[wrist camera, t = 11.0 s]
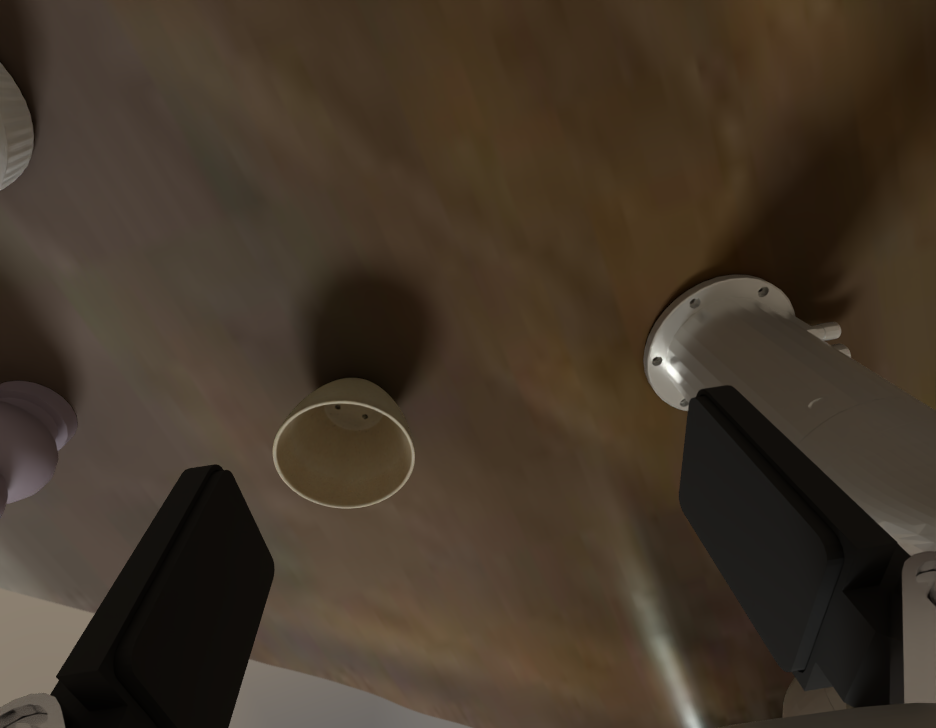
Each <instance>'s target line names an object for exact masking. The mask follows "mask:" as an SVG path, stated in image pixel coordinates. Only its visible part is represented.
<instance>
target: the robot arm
mask: <svg viewBox="0 0 936 728" xmlns="http://www.w3.org/2000/svg"><path fill="white" fill-rule="evenodd" d="M840 335H841V328H840V325H839V324H838V323H837V322H828V323H822V324H817V325H815V326H810V325H808V324H807V323H805V322H803V321H802V320H800V319H798V318H797V317H795V312H794V309H793V306H792V304H791V302H790V300H789V299H788V297H787V296H786V295H785V294H784V293H783V291H782V290H780V289H779V288H777V287H776V286H774V285H773V284H771V283H769V282H767V281H765V280H763V279H761V278H758V277H754V276H750V275H734V274H733V275H727V276H720V277H716V278H713V279H710V280H707V281H705V282H702V283H700V284H698V285H696V286H695V287H693V288H691V289H689V290H687V291H686V292H685V293H683V294H682V295H681V296H679V297H678V298H677V299H675V300H674V301H673V302H672V303H671V304H670V305H669V306H668V307H667V308H666V309H665V310H664V312H663V313H662V314H661V316H660V317H659V318H658V320H657V321H656V322H655V324H654V326H653V328H652V330H651V332H650V334H649V336H648V339H647V343H646V346H645V351H644V369H645V374H646V377H647V379H648V382H649V384H650V385H651V387H652V388H653V389H654V391H655V392H656V393H657V394H658V396H659V397H660V398H661V399H662V400H663V401H665V402H666V403H668V404H669V405H671V406H673V407H675V408H677V409H680V410H684V411H688V416H687V425H686V434H685V443H684V452H683V462H682V471H681V480H680V489H679V501H680V505H681V508H682V511H683V512H684V514H685V516H686V518H687V519H688V521H689V522H690V524H691V526H692V527H693V529H694V530H695V532H696V534H697V535H698V537H699V538H700V540H701V542H702V543H703V545H704V546H705V548H706V550H707V551H708V553H709V555H710V556H711V558H712V559H713V561H714V563H715V564H716V566H717V567H718V569H719V571H720V572H721V574H722V575H723V577H724V579H725V580H726V582H727V583H728V585H729V587H730V588H731V590H732V591H733V593H734V595H735V596H736V598H737V600H738V601H739V603H740V604H741V606H742V608H743V609H744V611H745V612H746V614H747V616H748V617H749V619H750V620H751V622H752V624H753V625H754V627H755V628H756V630H757V632H758V633H759V635H760V636H761V638H762V640H763V641H764V643H765V645H766V646H767V648H768V649H769V651H770V653H771V654H772V656H773V657H774V659H775V661H776V662H777V663H778V665H779V666H780V667H781V668H782V669H783V670H784V671H786V672H792V673H793V674H794V676H795V678H794V680H793V681H792V683H791V685H790V686H789V688H788V690H787V692H786V696H785V699H784V703H783V718H778V719H770V720H763V721H756V722H749V723H743V724H736V725H730V726H724V727H717V728H936V411H935V410H934V409H932V408H930V407H929V406H927V405H926V404H924V403H922V402H921V401H919V400H918V399H916V398H914V397H913V396H911V395H910V394H908V393H906V392H905V391H903V390H902V389H900V388H898V387H897V386H895V385H894V384H892V383H890V382H889V381H887V380H885V379H884V378H882V377H881V376H879V375H877V374H876V373H874V372H873V371H871V370H869V369H868V368H866V367H865V366H863V365H861V364H860V363H858V362H857V361H855V360H853V359H852V358H851V354H850V351H849V349H848V348H847V347H846V346H845V345H843V344H834V345H829V344H828V343H826V342H824V341H825V340H831V339H836V338H839V336H840ZM273 577H274V562H273V559H272V556H271V554H270V552H269V550H268V548H267V546H266V544H265V541H264V539H263V537H262V535H261V533H260V531H259V529H258V527H257V525H256V523H255V520H254V518H253V516H252V514H251V512H250V510H249V508H248V506H247V504H246V501H245V499H244V497H243V495H242V493H241V491H240V489H239V487H238V485H237V483H236V480H235V478H234V476H233V474H232V473H231V472H230V471H229V470H223V469H222V467H221V466H219V465H208V466H202V467H196V468H189V469H187V470H185V471H184V472H183V473H182V474H181V476H180V478H179V479H178V481H177V482H176V484H175V486H174V487H173V489H172V491H171V492H170V494H169V495H168V497H167V499H166V500H165V502H164V503H163V505H162V507H161V508H160V510H159V511H158V513H157V515H156V516H155V518H154V520H153V521H152V523H151V524H150V526H149V528H148V529H147V531H146V532H145V534H144V536H143V537H142V539H141V540H140V542H139V544H138V545H137V547H136V549H135V550H134V552H133V553H132V555H131V557H130V558H129V560H128V561H127V563H126V565H125V566H124V568H123V569H122V571H121V573H120V574H119V576H118V578H117V579H116V581H115V582H114V584H113V586H112V587H111V589H110V590H109V592H108V594H107V595H106V597H105V599H104V600H103V602H102V603H101V605H100V607H99V608H98V610H97V611H96V613H95V615H94V616H93V618H92V620H91V621H90V623H89V624H88V626H87V628H86V629H85V631H84V632H83V634H82V636H81V637H80V639H79V640H78V642H77V644H76V645H75V647H74V649H73V650H72V652H71V653H70V655H69V657H68V658H67V660H66V662H65V663H64V665H63V666H62V668H61V670H60V671H59V673H58V674H57V676H56V677H57V678H58V679H59V681H58V683H57V685H56V686H55V688H54V690H53V691H52V693H51V694H50V695H48V694H46V693H40V694H30V695H27V696H24V697H21V698H18V699H15V700H13V701H11V702H9V703H7V704H5V705H4V706H2V707H0V728H228V727H229V724H230V720H231V717H232V714H233V710H234V707H235V704H236V700H237V697H238V694H239V690H240V687H241V684H242V680H243V677H244V674H245V670H246V667H247V664H248V660H249V657H250V654H251V651H252V647H253V644H254V641H255V637H256V634H257V631H258V627H259V624H260V621H261V617H262V614H263V611H264V607H265V604H266V601H267V597H268V594H269V591H270V587H271V584H272V581H273Z"/></svg>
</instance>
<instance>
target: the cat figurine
mask: <svg viewBox="0 0 936 728" xmlns="http://www.w3.org/2000/svg"><path fill="white" fill-rule="evenodd" d="M77 427H78V425H77V416H76V414H75V412H74V410H73V409H72V407H71V405H70V404H69V403H68V402H67V401H66V400H65V399H64V398H63V397H62V396H60V395H59V394H57V393H56V392H54V391H53V390H51V389H50V388H47V387H44V386H42V385H39V384H37V383H32V382H26V381H8V382H4V383H2V384H0V518H1V516H2V514H3V512H4V510H5V506H6V504H7V503H12V502H15V501H18V500H21V499H24V498H26V497H29V496H31V495H33V494H35V493H36V492H38V491H39V490H40V489H41V488H42V487H43V486H44V485H45V484H47V483H48V482H49V481H50V479H51V478H52V477H53V475H54V472H55V469H56V465H57V462H58V450H60V449H61V448H62V447H63V446H64V445H65V444H66V443H67V442H68V441H69V440H70V439H71V438H72V437H73V436H74V434H75V432H76V429H77Z"/></svg>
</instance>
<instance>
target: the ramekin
mask: <svg viewBox="0 0 936 728" xmlns="http://www.w3.org/2000/svg"><path fill="white" fill-rule="evenodd" d="M33 141H34V133H33V124H32V120H31V115H30V112H29V109H28V107H27V104H26V101H25V99H24V98H23V96H22V94H21V91H20V89H19V88H18V86H17V85H16V83H15V81H14V80H13V78H12V77H11V75H10V74H9V73H8V72H7V70H6V69H5V68H4V66H3V65H2V64H1V63H0V191H1V190H2V189H4V188H5V187H7V186H8V185H9V184H11V183H12V182H14V181H15V180H16V179H17V178H18V177H19V176H20V175H21V174H22V173H23V172H24V169H25V168H26V167H27V166H28V164H29V160H30V158H31V156H32V150H33V147H34V144H33Z"/></svg>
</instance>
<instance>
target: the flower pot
mask: <svg viewBox="0 0 936 728" xmlns="http://www.w3.org/2000/svg"><path fill="white" fill-rule="evenodd" d="M337 407H340V408H339V409H337ZM365 414H366V415H367V416H366V415H365ZM273 460H274V464H275V467H276V469H277V471H278V473H279V475H280V477H281V478H282V479H283V481H284V482H285V483H286V484H287V485H288V486H289V487H290V488H291V489H292V490H293V491H295V492H296V493H297V494H299V495H300V496H302V497H304V498H305V499H307V500H310V501H312V502H315V503H317V504H320V505H324V506H329V507H334V508H360V507H365V506H369V505H373V504H376V503H378V502H381V501H383V500H385V499H387V498H389V497H390V496H392V495H393V494H395V493H396V492H397V491H398V490H399V489H400V488H401V487H402V486H403V485H404V484H405V483H406V481H407V480H408V478H409V477H410V475H411V473H412V470H413V467H414V462H415V451H414V445H413V440H412V436H411V433H410V430H409V427H408V424H407V422H406V419H405V417H404V415H403V413H402V412H401V410H400V408H399V407H398V405H397V404H396V403H395V401H394V400H393V399H392V398H391V397H390V395H389V394H387V393H386V392H385V391H384V390H383V389H382V388H380V387H379V386H378V385H376V384H374V383H372V382H370V381H368V380H365V379H361V378H344V379H339V380H335V381H332V382H330V383H328V384H325V385H323V386H322V387H320V388H318V389H316V390H315V391H314V392H312V393H311V394H309V395H308V396H307V397H306V398H304V399H303V400H302V401H301V402H300V403H299V404H298V405H297V406H296V407H295V408H294V409H293V411H292V412H291V413H290V414H289V416H288V417H287V418H286V420H285V421H284V423H283V424H282V426H281V427H280V429H279V431H278V433H277V435H276V437H275V440H274V445H273Z"/></svg>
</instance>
